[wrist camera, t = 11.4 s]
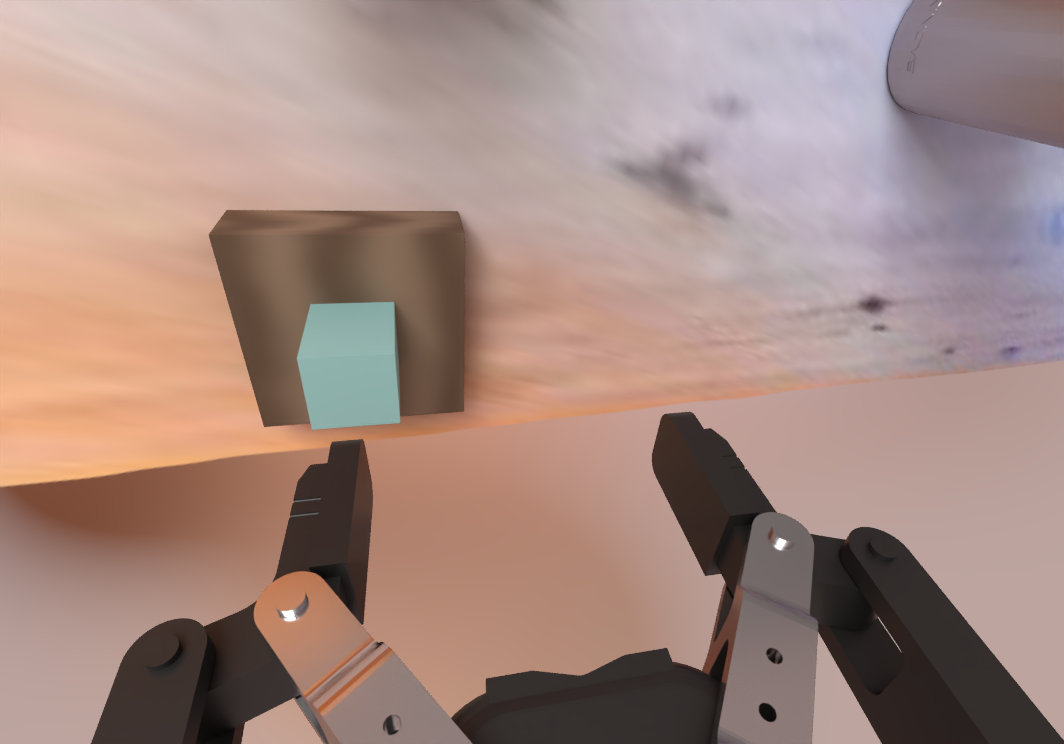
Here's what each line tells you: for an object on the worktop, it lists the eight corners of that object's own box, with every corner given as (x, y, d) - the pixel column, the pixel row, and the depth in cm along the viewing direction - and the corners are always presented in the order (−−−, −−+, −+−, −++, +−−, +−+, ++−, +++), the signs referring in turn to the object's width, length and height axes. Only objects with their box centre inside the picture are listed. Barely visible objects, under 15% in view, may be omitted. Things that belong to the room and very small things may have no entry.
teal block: (394, 301, 33) (394, 353, 29) (399, 366, 36) (400, 422, 32) (310, 304, 32) (296, 358, 28) (322, 370, 35) (311, 429, 30)
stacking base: (457, 211, 35) (464, 233, 32) (458, 380, 43) (463, 411, 40) (226, 210, 32) (208, 234, 29) (274, 392, 40) (264, 426, 37)
